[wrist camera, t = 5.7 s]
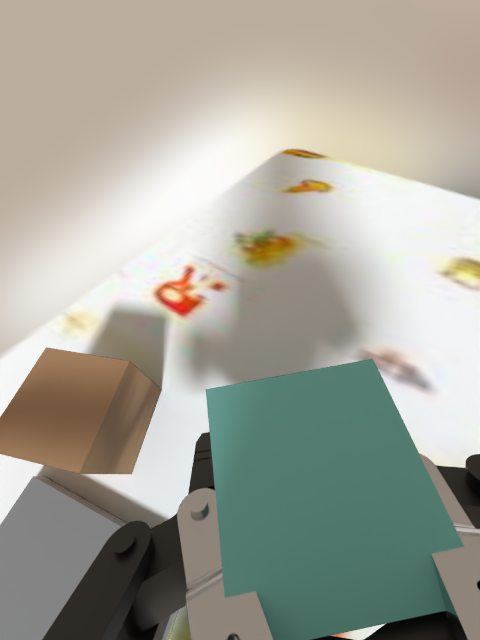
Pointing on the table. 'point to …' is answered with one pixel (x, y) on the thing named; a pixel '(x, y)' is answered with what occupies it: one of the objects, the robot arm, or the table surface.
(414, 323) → the table surface
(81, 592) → the robot arm
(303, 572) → the teal block
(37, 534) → the coaster
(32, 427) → the walnut cube
